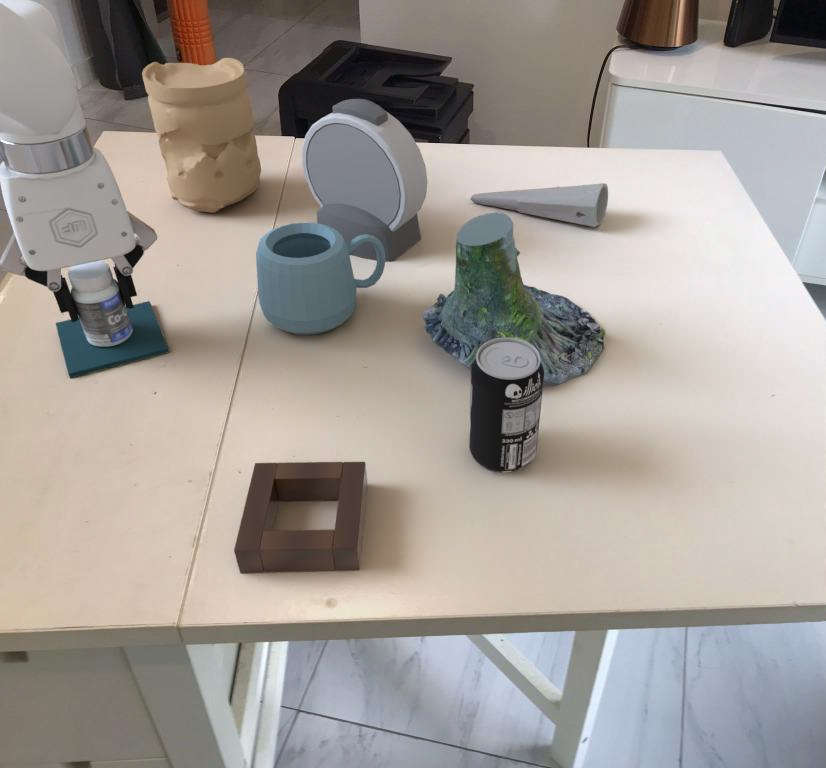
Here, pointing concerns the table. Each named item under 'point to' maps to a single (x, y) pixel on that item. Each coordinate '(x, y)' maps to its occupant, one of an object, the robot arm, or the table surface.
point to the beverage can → (505, 404)
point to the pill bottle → (99, 304)
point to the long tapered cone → (554, 202)
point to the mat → (95, 358)
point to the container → (204, 131)
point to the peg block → (302, 547)
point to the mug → (310, 277)
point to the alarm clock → (366, 176)
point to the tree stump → (509, 306)
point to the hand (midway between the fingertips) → (100, 307)
